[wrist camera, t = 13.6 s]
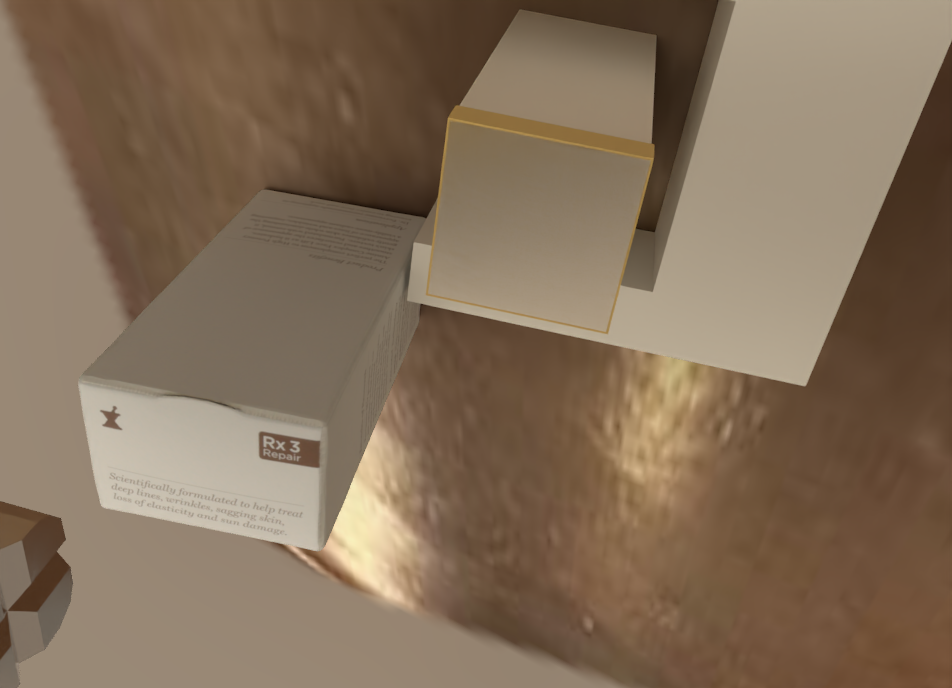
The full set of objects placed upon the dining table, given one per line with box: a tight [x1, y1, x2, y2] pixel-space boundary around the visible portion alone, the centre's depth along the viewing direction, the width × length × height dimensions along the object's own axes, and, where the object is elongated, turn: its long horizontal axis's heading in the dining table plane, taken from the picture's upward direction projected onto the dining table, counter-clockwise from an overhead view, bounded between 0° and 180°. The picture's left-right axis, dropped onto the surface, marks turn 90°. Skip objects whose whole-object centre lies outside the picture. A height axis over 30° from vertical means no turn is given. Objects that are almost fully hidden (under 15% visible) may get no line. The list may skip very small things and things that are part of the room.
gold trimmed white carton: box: [426, 9, 657, 334], centre depth 23 cm, size 4×4×10 cm
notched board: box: [407, 0, 952, 386], centre depth 25 cm, size 12×14×4 cm
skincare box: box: [78, 189, 426, 551], centre depth 26 cm, size 6×4×12 cm
